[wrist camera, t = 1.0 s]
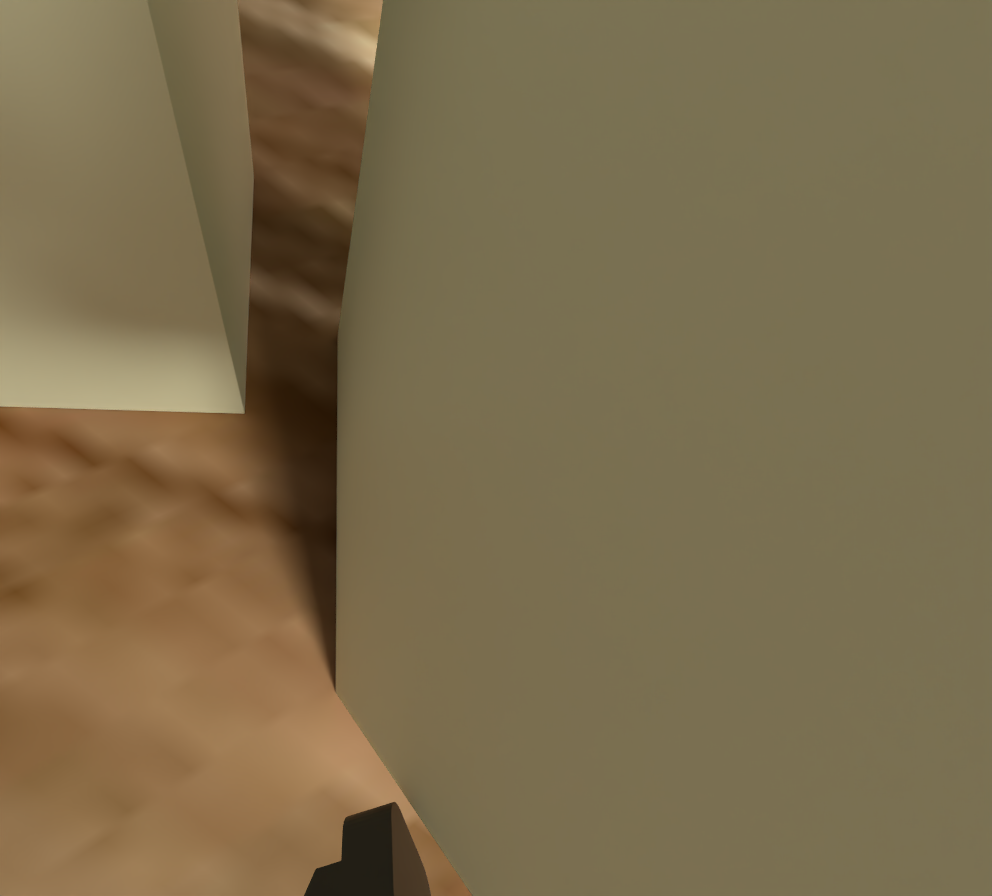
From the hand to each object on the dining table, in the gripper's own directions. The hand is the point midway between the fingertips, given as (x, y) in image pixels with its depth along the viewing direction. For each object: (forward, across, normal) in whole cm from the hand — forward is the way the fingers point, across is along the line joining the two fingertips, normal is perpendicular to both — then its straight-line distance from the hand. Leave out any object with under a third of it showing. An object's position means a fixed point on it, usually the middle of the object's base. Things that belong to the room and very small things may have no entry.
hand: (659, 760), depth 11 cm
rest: (+21, +4, +5) cm, 22 cm away
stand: (+26, +14, -7) cm, 30 cm away
